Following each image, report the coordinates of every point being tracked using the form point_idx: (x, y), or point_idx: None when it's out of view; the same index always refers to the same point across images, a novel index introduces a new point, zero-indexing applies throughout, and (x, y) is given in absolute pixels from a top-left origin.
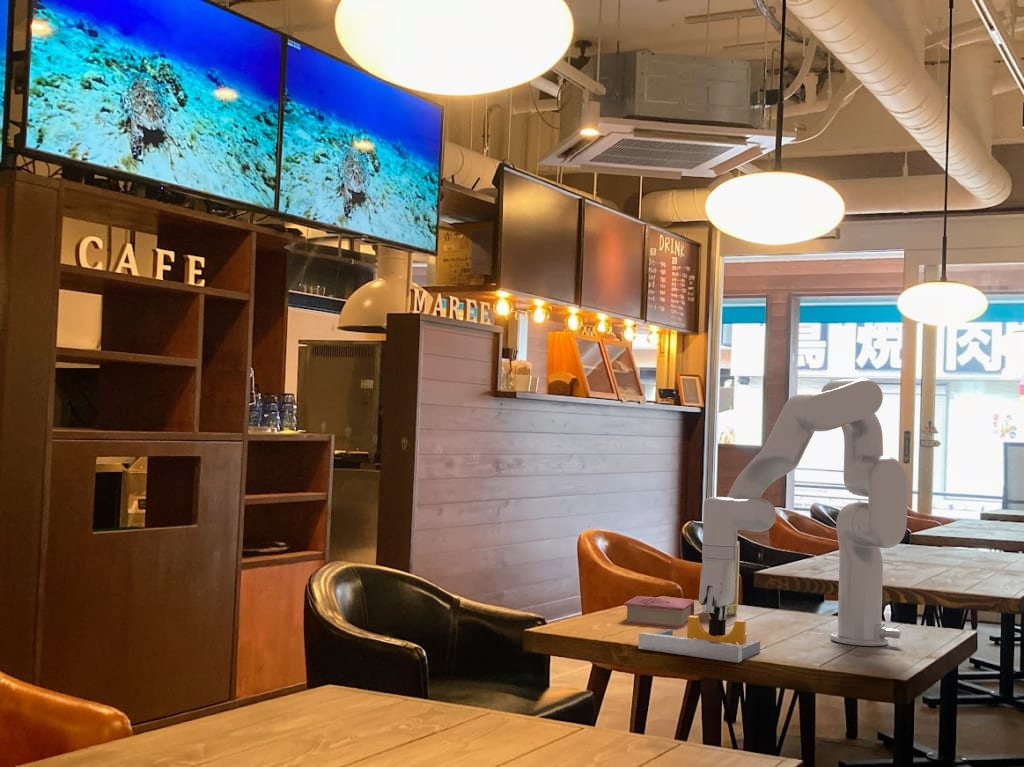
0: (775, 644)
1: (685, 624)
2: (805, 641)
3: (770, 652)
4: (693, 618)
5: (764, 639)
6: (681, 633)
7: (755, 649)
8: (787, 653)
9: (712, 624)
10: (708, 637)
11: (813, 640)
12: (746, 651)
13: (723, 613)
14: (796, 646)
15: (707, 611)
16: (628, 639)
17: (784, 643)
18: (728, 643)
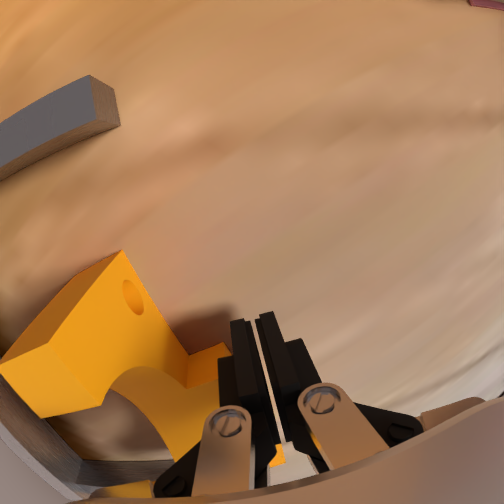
0: (417, 399)
1: (499, 8)
2: (485, 384)
3: (277, 465)
4: (27, 395)
5: (475, 332)
6: (378, 30)
7: None
8: (302, 477)
9: (222, 399)
10: (120, 391)
11: (500, 379)
12: None
13: (316, 469)
14: None
15: (97, 496)
16: (6, 19)
17: (443, 394)
18: (63, 484)
